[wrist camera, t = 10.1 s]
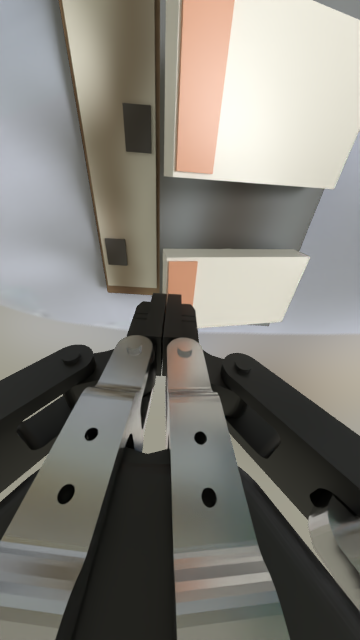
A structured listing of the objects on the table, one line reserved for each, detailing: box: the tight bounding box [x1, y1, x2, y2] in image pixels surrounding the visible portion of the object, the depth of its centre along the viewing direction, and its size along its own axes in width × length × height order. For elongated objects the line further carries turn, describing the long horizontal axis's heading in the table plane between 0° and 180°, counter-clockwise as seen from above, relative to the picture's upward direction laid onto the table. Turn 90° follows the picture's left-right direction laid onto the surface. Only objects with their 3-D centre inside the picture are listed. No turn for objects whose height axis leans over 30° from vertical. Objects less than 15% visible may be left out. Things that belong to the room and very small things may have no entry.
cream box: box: [162, 249, 310, 328], centre depth 14 cm, size 9×5×3 cm, turn 87°
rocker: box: [164, 0, 360, 189], centre depth 9 cm, size 9×5×3 cm, turn 87°
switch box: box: [59, 0, 360, 326], centre depth 13 cm, size 16×26×6 cm, turn 176°
